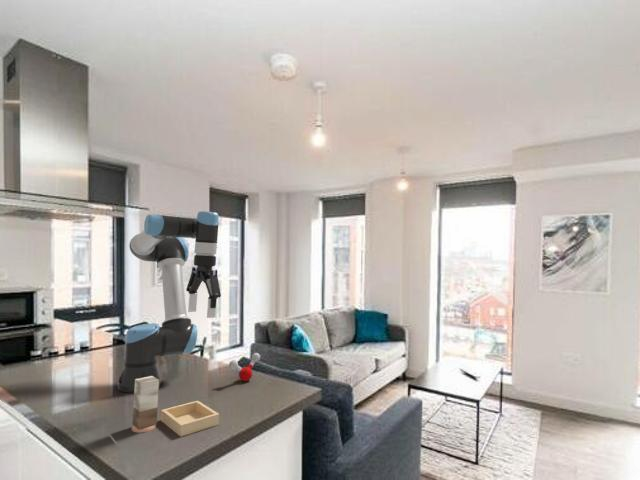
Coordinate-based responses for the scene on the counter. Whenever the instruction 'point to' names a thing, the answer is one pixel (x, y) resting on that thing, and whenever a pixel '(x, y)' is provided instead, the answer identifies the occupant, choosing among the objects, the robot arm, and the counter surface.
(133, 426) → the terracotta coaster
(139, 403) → the two-tone block
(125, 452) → the counter surface
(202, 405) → the beige open tray
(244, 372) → the molecular model
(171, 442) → the counter surface
